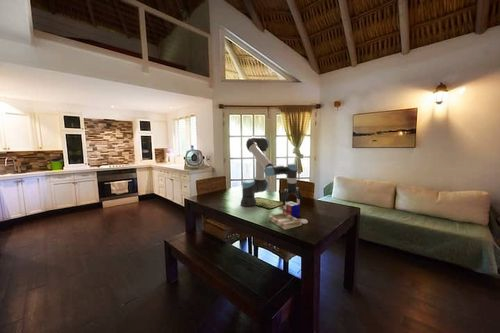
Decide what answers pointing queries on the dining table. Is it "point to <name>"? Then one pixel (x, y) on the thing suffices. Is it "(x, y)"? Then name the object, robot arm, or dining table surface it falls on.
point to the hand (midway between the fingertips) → (291, 207)
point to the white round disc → (304, 221)
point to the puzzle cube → (292, 209)
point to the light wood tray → (285, 220)
